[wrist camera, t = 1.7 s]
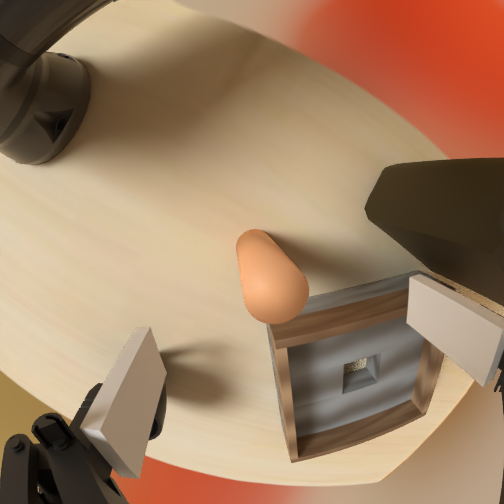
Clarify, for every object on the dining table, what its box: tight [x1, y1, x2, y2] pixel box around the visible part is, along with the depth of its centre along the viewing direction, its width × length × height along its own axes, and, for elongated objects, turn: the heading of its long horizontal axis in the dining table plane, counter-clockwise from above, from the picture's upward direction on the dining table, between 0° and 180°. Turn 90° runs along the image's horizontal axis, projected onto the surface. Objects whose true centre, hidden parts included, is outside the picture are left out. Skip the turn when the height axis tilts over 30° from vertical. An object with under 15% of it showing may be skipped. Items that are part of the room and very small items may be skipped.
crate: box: [266, 270, 456, 463], centre depth 31 cm, size 22×22×8 cm
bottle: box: [364, 158, 504, 306], centre depth 19 cm, size 8×16×25 cm, turn 60°
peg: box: [236, 229, 309, 324], centre depth 23 cm, size 4×4×14 cm
